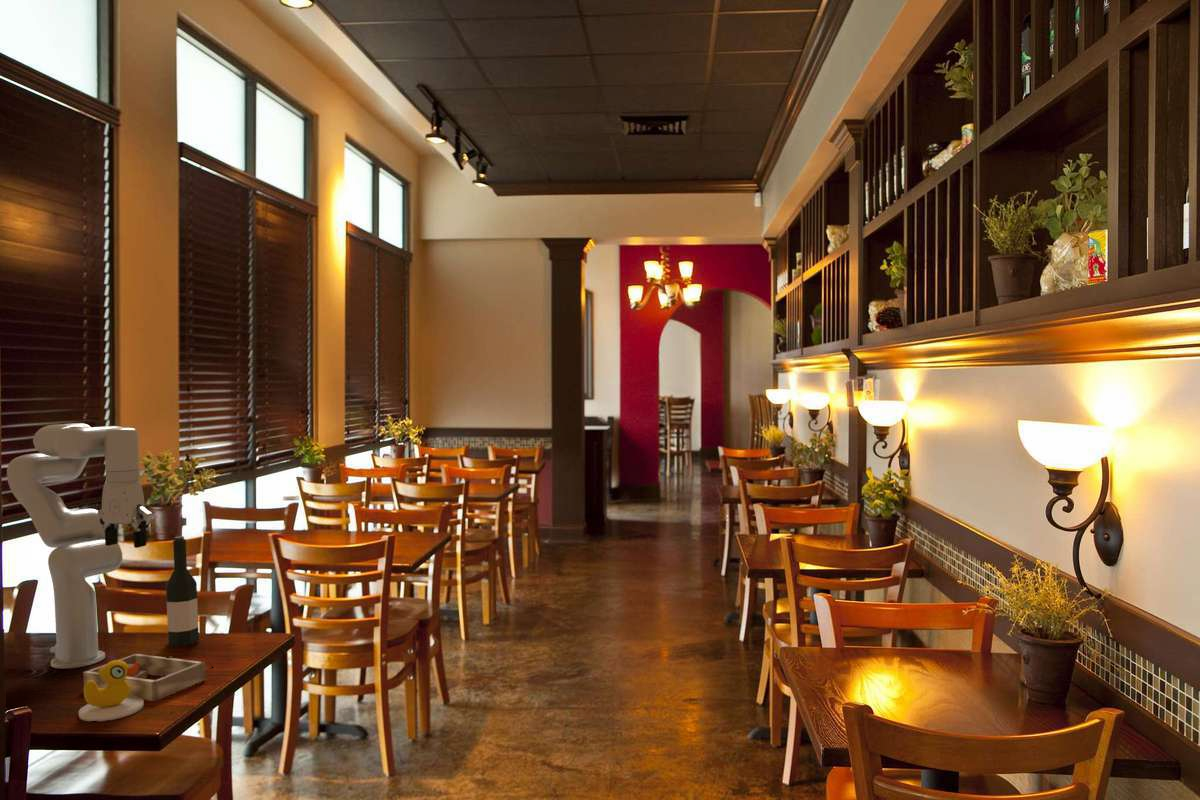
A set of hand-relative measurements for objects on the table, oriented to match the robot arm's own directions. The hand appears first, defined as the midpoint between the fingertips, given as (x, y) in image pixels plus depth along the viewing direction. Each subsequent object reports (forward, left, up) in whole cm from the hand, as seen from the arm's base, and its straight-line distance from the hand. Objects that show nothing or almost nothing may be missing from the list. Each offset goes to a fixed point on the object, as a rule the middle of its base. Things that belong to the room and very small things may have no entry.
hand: (125, 545), depth 229 cm
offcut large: (+2, -4, -34) cm, 34 cm away
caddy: (+9, -3, -33) cm, 35 cm away
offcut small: (+2, -3, -32) cm, 32 cm away
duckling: (+15, -18, -32) cm, 40 cm away
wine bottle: (-11, +27, -34) cm, 44 cm away
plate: (+15, -18, -33) cm, 41 cm away
